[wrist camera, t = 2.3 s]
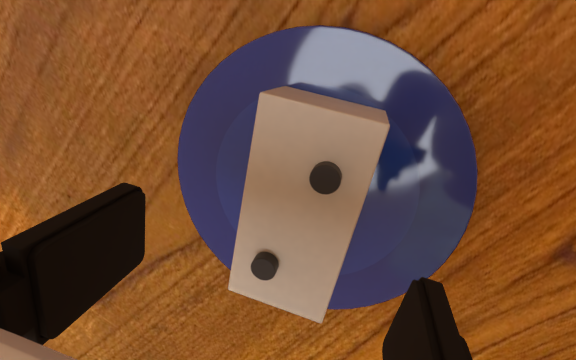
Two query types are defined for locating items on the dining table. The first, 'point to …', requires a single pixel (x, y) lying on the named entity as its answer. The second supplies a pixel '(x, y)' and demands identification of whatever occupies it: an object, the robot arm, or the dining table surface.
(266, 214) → the controller
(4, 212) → the dining table surface
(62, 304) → the robot arm
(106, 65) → the dining table surface
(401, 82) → the plate
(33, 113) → the dining table surface
